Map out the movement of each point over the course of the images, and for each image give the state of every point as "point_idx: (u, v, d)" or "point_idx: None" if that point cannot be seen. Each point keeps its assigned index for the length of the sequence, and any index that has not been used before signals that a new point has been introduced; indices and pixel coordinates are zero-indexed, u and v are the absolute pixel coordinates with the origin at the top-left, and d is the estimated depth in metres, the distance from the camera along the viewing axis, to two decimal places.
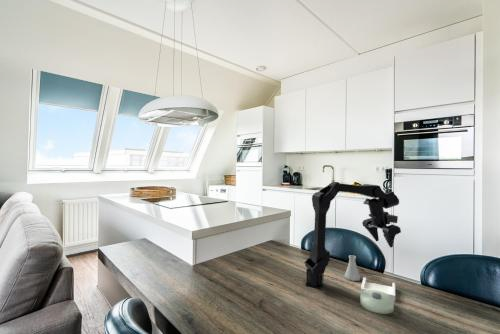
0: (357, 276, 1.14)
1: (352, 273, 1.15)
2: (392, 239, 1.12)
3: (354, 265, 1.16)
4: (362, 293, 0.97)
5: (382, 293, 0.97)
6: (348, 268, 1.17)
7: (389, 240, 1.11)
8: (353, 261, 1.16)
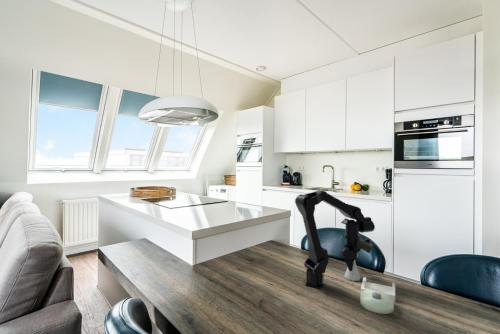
0: (357, 276, 1.14)
1: (352, 273, 1.15)
2: (351, 263, 1.12)
3: (354, 265, 1.16)
4: (362, 293, 0.97)
5: (382, 293, 0.97)
6: None
7: (347, 262, 1.12)
8: None
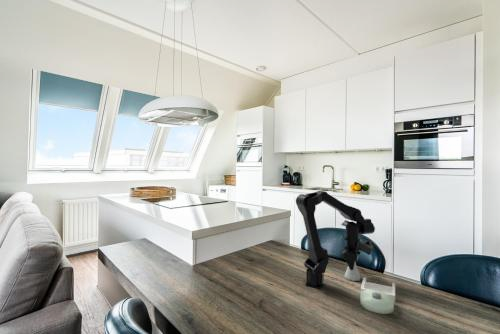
0: (357, 276, 1.14)
1: (352, 273, 1.15)
2: (352, 263, 1.14)
3: (354, 265, 1.16)
4: (362, 293, 0.97)
5: (382, 293, 0.97)
6: (348, 268, 1.17)
7: (348, 262, 1.15)
8: None
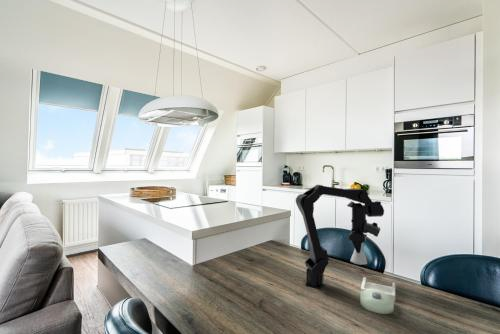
0: (364, 260, 1.11)
1: (358, 257, 1.11)
2: (359, 245, 1.11)
3: (361, 248, 1.12)
4: (362, 293, 0.97)
5: (382, 293, 0.97)
6: (355, 252, 1.13)
7: (355, 245, 1.11)
8: None
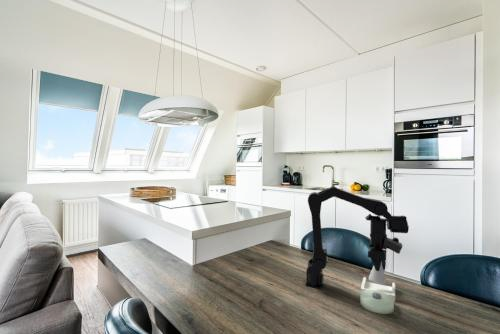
0: (384, 279, 1.02)
1: (378, 276, 1.02)
2: (378, 262, 1.02)
3: (380, 266, 1.03)
4: (362, 293, 0.97)
5: (382, 293, 0.97)
6: (373, 270, 1.04)
7: (374, 262, 1.02)
8: None
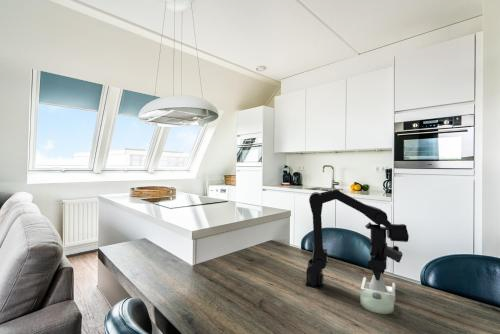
0: (384, 288, 1.02)
1: (378, 285, 1.02)
2: (378, 272, 1.01)
3: (380, 276, 1.03)
4: (362, 293, 0.97)
5: (382, 293, 0.97)
6: (373, 279, 1.04)
7: (374, 271, 1.02)
8: None
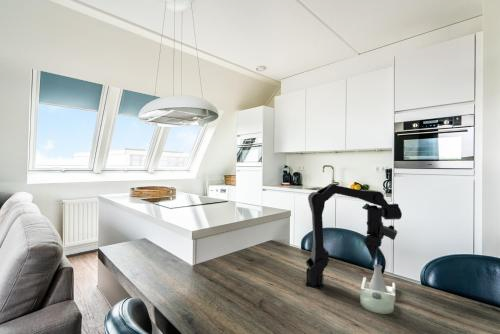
0: (384, 288, 1.02)
1: (378, 285, 1.02)
2: (374, 250, 1.06)
3: (380, 276, 1.03)
4: (362, 293, 0.97)
5: (382, 293, 0.97)
6: (373, 279, 1.04)
7: (370, 250, 1.07)
8: (379, 271, 1.03)
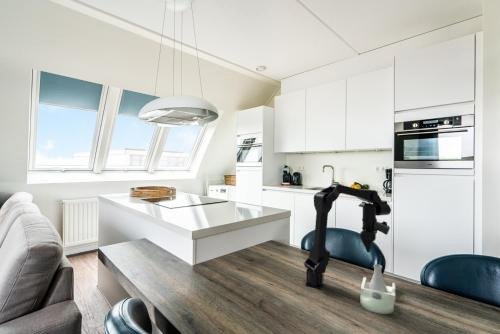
0: (384, 288, 1.02)
1: (378, 285, 1.02)
2: (369, 244, 1.15)
3: (380, 276, 1.03)
4: (362, 293, 0.97)
5: (382, 293, 0.97)
6: (373, 279, 1.04)
7: (365, 244, 1.16)
8: (379, 271, 1.03)
